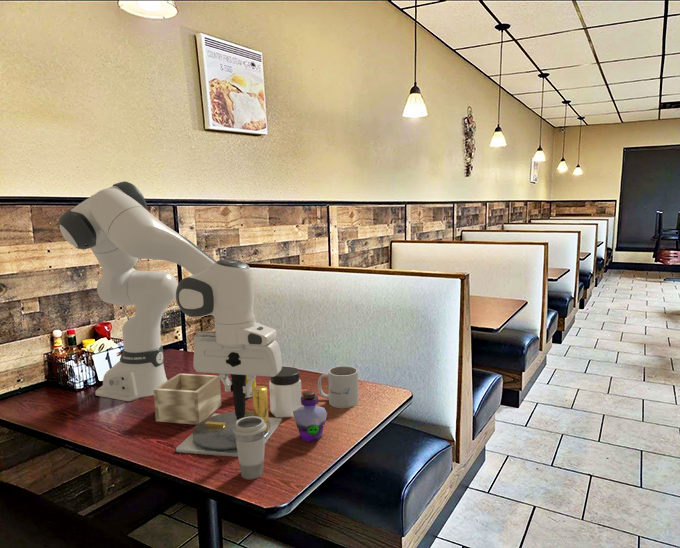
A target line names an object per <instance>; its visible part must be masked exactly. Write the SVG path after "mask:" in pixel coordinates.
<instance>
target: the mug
mask: <svg viewBox="0 0 680 548" xmlns="http://www.w3.org/2000/svg"><path fill="white" fill-rule="evenodd" d="M323 378H327V379H328V394H327V393H325V392H324V391H323V388H322V380H323ZM317 391H318V393H319V394H320V396H321V397H323V398H324V399H328V404H329V405H330V406H331V407H334V408H339V409H347V408H352V407H355V406H357V405H358V404H359V370H358V368H356V367H354V366H349V365H339V366H338V365H337V366H334V367H331V368H329V369H328V371H327V373H322V374H321V375H319V378H318V380H317Z"/></svg>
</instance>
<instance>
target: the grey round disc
mask: <svg viewBox="0 0 680 548" xmlns="http://www.w3.org/2000/svg"><path fill="white" fill-rule="evenodd" d="M252 392H253V397H252V408H253V409H252V410H253V412H252V411H245V415H244V417H249V416H257V417H261V418H262V419H263V420H264V422H265V423H266V425H267V427H266V429H265V430H264V433H265V436H266V435H267V434H268V433H269V431H270V422H269V418H270V416H269V397H268V396H269V395H268V387H267V386H265V385H256V387H254V388H253V389H252ZM218 414H219V415H215V416H212V415H211V416H212V417H211V416H209V417H208V418H207V419H205V420H203V421H202V422H200V423H199V424H198V425H195V426H194V428H193V430H192V433H193V440H194V442H195V443H196V444H198V445H199V446H201V447H204V448H208V449H214V450H229V449H237V445H236V434H235V433H234V432H233V428H234V426H235V423H236V421H238V420H237V419H236V416H235V411H230V412H224V413H218Z"/></svg>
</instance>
